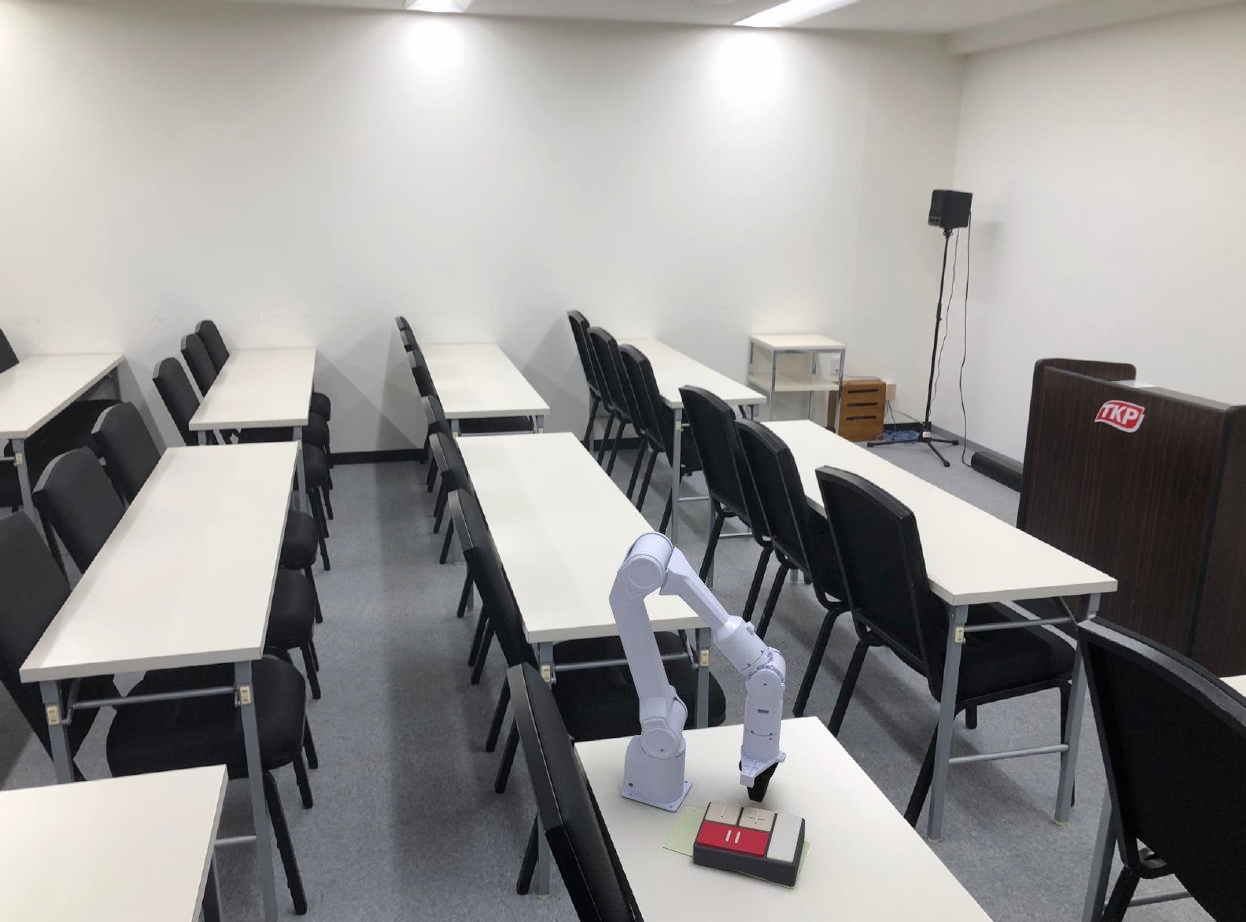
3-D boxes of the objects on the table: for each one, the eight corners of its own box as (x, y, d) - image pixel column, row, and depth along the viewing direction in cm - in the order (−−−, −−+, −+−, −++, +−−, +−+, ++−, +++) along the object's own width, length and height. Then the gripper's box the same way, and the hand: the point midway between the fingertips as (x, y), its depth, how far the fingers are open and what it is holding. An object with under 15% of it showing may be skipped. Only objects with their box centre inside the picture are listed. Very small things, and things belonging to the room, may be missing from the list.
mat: (662, 847, 142) (662, 846, 142) (686, 806, 151) (686, 805, 151) (793, 889, 135) (793, 888, 135) (810, 843, 144) (810, 842, 144)
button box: (709, 796, 148) (805, 813, 143) (709, 819, 149) (805, 837, 145) (692, 841, 138) (795, 861, 133) (692, 866, 139) (794, 887, 135)
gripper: (774, 757, 139) (768, 833, 144) (799, 708, 152) (792, 780, 156) (729, 745, 142) (723, 820, 146) (756, 697, 155) (751, 768, 159)
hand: (756, 798), depth 151 cm, fingers closed
